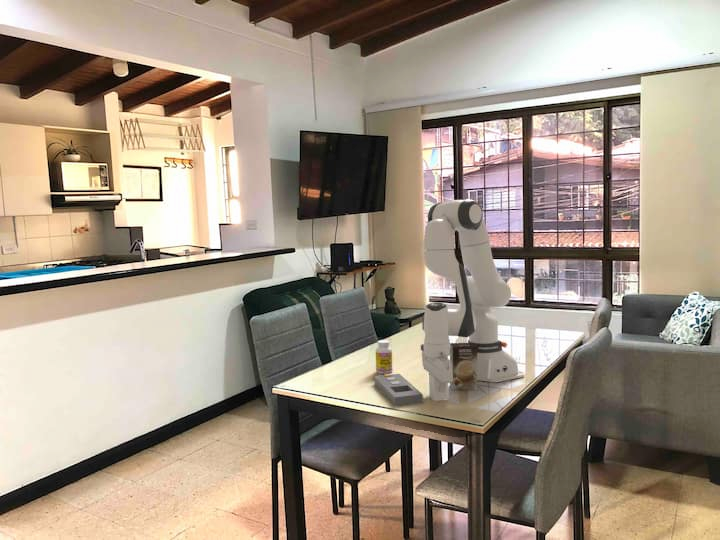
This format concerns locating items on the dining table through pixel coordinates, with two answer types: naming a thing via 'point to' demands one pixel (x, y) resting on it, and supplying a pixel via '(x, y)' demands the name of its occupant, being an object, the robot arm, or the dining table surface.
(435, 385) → the block
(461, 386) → the coffee box
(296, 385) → the dining table surface
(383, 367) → the supplement bottle
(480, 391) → the dining table surface
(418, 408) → the dining table surface
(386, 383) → the power strip
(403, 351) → the dining table surface
